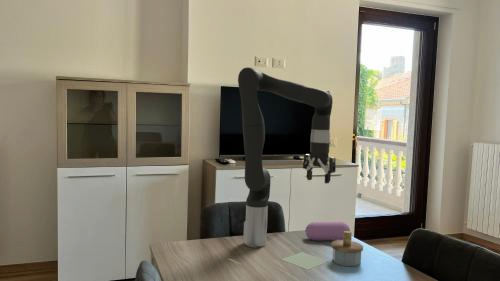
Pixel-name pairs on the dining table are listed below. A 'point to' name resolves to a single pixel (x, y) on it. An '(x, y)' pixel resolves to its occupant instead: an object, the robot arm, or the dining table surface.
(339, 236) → the toy
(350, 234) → the lid
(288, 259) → the mat
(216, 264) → the dining table surface
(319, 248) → the dining table surface
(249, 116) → the robot arm
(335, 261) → the cup
